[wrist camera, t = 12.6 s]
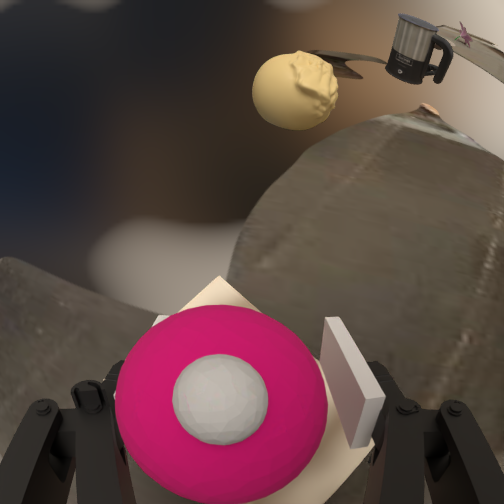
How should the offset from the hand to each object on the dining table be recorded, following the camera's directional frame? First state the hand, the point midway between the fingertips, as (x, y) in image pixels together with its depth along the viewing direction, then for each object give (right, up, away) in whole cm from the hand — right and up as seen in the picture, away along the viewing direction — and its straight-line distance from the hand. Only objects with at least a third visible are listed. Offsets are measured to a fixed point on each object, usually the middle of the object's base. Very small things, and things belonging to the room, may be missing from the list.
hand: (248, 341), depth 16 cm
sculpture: (+6, +25, +29) cm, 38 cm away
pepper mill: (-2, -8, +6) cm, 10 cm away
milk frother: (+38, +46, +42) cm, 73 cm away
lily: (+91, +95, +73) cm, 150 cm away
